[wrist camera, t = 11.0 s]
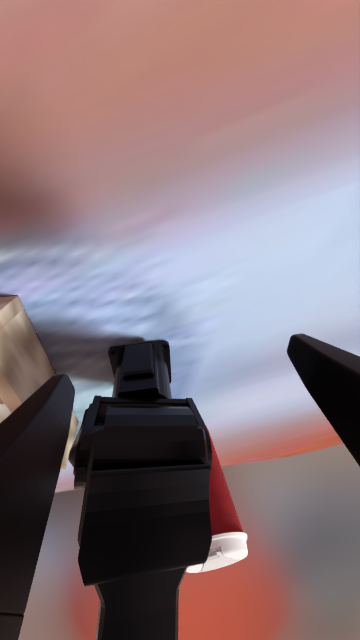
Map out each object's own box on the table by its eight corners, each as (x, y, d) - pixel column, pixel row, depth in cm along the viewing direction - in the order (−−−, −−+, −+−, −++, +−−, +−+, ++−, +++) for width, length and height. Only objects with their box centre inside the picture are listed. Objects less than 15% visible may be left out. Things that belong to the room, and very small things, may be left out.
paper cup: (160, 426, 31) (172, 568, 19) (209, 411, 31) (249, 545, 19) (174, 450, 35) (190, 578, 24) (217, 437, 35) (254, 558, 24)
